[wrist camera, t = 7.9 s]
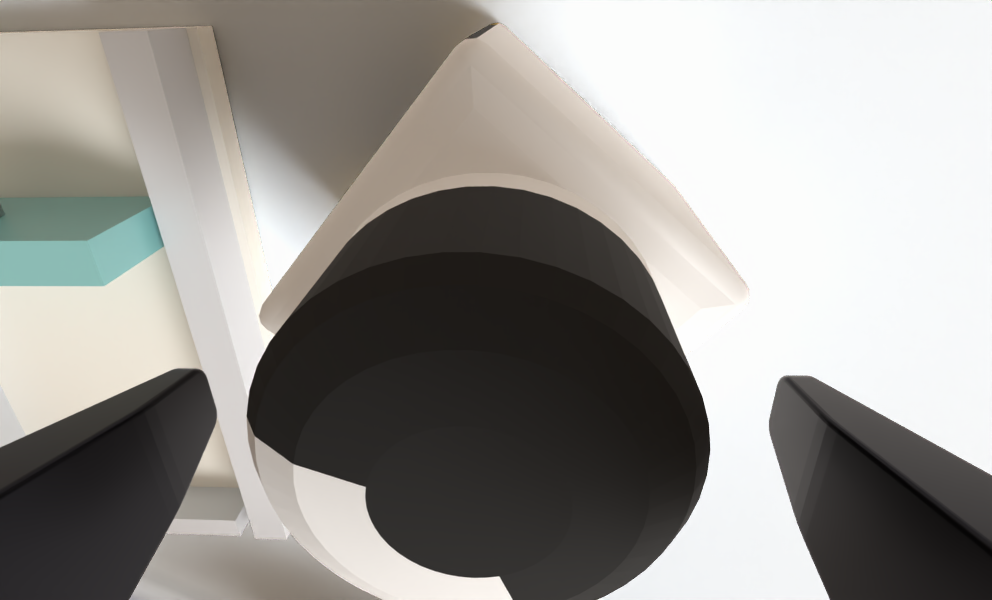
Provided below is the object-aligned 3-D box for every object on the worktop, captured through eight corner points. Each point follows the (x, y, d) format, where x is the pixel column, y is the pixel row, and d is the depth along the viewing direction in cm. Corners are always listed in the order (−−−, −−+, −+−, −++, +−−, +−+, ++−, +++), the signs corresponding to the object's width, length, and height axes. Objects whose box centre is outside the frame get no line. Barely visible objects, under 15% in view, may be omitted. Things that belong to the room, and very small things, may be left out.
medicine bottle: (496, 15, 15) (403, 55, 5) (680, 190, 17) (913, 503, 7) (347, 210, 18) (78, 512, 8) (520, 343, 20) (501, 738, 9)
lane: (317, 489, 24) (294, 540, 21) (37, 482, 24) (-13, 530, 22) (212, 25, 16) (159, 30, 14) (-194, 38, 17) (-305, 44, 14)
